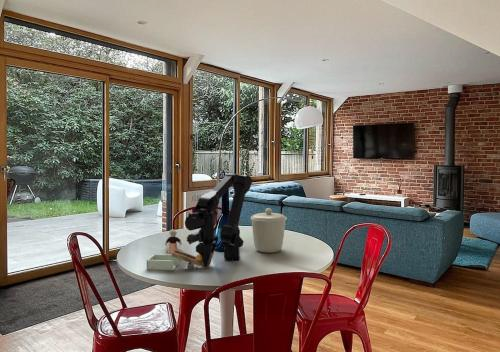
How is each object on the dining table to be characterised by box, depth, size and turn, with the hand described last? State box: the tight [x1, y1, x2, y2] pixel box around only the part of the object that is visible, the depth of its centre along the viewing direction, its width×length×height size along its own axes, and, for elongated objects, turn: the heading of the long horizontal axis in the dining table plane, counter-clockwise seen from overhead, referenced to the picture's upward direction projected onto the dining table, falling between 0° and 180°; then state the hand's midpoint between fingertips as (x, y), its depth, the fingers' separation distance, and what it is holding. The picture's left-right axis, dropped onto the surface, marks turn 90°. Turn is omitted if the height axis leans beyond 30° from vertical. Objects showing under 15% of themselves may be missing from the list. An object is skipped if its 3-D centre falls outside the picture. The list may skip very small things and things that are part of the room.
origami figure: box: [164, 241, 182, 252], centre depth 188 cm, size 12×8×5 cm
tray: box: [146, 253, 180, 271], centre depth 158 cm, size 11×9×4 cm
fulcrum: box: [182, 262, 198, 271], centre depth 157 cm, size 5×6×2 cm
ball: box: [195, 253, 203, 262], centre depth 157 cm, size 4×4×4 cm
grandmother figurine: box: [164, 229, 183, 255], centre depth 174 cm, size 8×4×13 cm, turn 105°
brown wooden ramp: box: [172, 249, 214, 270], centre depth 157 cm, size 16×5×6 cm, turn 86°
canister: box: [250, 207, 288, 254], centre depth 184 cm, size 18×18×21 cm
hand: (207, 263), depth 157 cm, fingers open, 9 cm apart
